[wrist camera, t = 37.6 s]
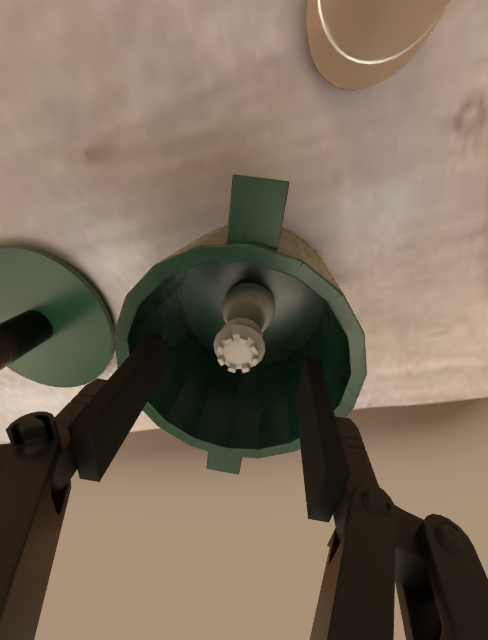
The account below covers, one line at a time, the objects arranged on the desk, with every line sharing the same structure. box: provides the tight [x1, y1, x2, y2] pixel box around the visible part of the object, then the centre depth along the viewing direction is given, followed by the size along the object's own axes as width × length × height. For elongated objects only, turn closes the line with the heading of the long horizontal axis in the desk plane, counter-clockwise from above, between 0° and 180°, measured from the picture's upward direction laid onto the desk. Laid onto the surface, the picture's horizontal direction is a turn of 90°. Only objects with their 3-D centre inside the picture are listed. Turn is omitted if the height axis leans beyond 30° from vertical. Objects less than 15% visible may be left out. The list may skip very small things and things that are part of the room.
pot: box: [114, 174, 367, 474], centre depth 19 cm, size 14×19×10 cm
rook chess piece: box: [214, 283, 275, 373], centre depth 20 cm, size 4×4×8 cm
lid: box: [0, 246, 115, 387], centre depth 23 cm, size 15×15×9 cm
